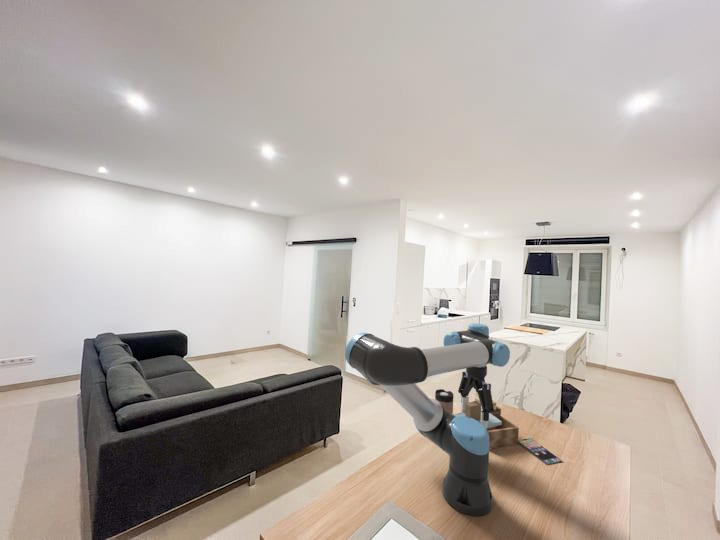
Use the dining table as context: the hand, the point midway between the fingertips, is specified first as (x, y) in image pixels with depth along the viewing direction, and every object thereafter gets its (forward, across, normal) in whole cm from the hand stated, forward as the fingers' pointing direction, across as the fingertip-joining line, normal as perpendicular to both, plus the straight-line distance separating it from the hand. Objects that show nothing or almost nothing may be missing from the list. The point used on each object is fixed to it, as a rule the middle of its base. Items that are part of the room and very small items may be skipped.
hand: (473, 420), depth 117 cm
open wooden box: (+14, +10, -17) cm, 25 cm away
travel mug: (+15, +13, +5) cm, 20 cm away
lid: (0, 0, -1) cm, 1 cm away
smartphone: (+15, -4, -29) cm, 33 cm away
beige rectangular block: (+6, +20, -22) cm, 31 cm away
